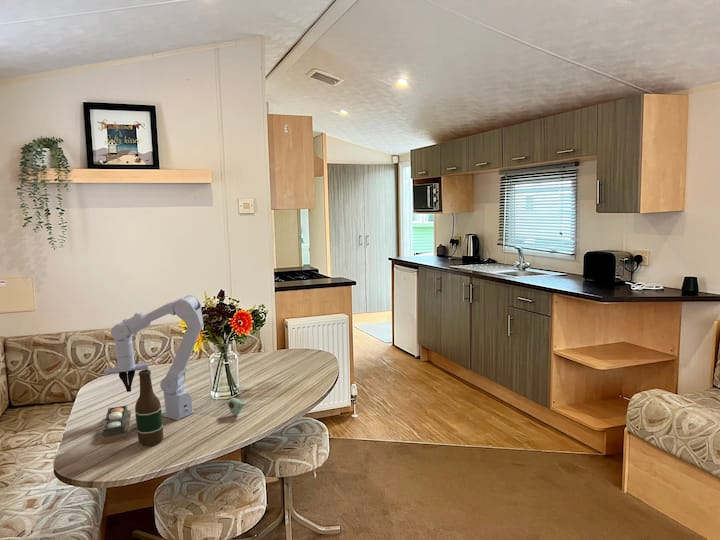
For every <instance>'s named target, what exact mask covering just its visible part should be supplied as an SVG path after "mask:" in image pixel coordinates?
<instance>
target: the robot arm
mask: <svg viewBox="0 0 720 540" xmlns="http://www.w3.org/2000/svg"><path fill="white" fill-rule="evenodd" d="M167 315H171V316H175V315H176V316H177V317H178V318H179V319H181V320H182V322H184V323H185V326H186V329H185V331H184V335H182V336H183V337H182V339H181V341H180V344H179V347H178V349H177V351H176V354H175V356H174V359H173V362H172V364H171V366H170V368H169V369H168V371H167V373H166V375H165V376H164V378H162V379H161V381H160V389H161V391H163V399H164V412H161V413H162V417H165V418H168V419H171V420H175V421H178V420H179V421H180V419H183V418H185V417H187V416H189V415H192V414H194V413H195V410H193V403H192V396H191V394H190V393H188V392H187V391H186V390H185V385H184V383H185V382H186V379H187V377H186V372H187V369H188V368H187V365H188V363H189V362H190V358H191V355H192V353H193V351H194V349H195V345H196V343H197V342H198V339H199V337H200V333H201V332H202V328H203V326H204V318H203V313H202V303H201V301H200V300H199V299H198V297H196V296H194V295H193V294H192V295H191V294H190V295H185V296H184V297H181V298H177V299H175V300H172V301H169V302H167V303H166V304H163V305H162V306H159V307H158V308H156V309H153V310H152V311H150V312H148V313H146V312H139V311H137V312H136V313H134V314H133V316H130V317H129V318H124V319H123V320H122V321H121V322H119V323H116V324H115V325H114V326H113V327H112V328H111V330H110V336H111V337H112V338H113V340H114V344H115V346H114V347H115V356H116V364H117V365H116V366H113V367H109V368H104V370H103V371H104V376H105V377H107V376H111V375H116V374H118V377H119V379H120V380H121V382H122V383H123V385H124V386H125V387H124V388H125V389H126V393H131V392H132V385H133V380H134V377H135V373H136V372H138V371H142V370H149V363H148V362H145V363H135V354H134V344H133V337H132V335H135V334H137V333H138V332H141V331H143V330H145V329H147V328H149V327H150V326H151V323H152V322H154V321H156V320H157V319H160V318H163V317H165V316H167Z"/></svg>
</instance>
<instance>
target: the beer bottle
mask: <svg viewBox="0 0 720 540" xmlns="http://www.w3.org/2000/svg"><path fill="white" fill-rule="evenodd" d="M151 374H152V371H151V370H149V369H148V370H139V372H138V375H137V376H139V397H138V398H137V400H136V402H135V408H134V409H135V411H134V412H135V421H136V432H137V434H136V435H137V440H138V443H139V445H140V446H142V447H152V446H156V445H159V444H160V443H162V441H163V439H164V425H163V416H162V413H163V412H162V405H161V402H160V399H159V398H158V396H157V395H156V394H155V393H154V388H153V384H152V379H151V378H152V376H151Z"/></svg>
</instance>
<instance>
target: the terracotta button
mask: <svg viewBox="0 0 720 540" xmlns="http://www.w3.org/2000/svg"><path fill="white" fill-rule="evenodd" d="M123 411H124V409H123V408H115V409H112V410H111V413H113V412H123Z"/></svg>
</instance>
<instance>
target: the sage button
mask: <svg viewBox="0 0 720 540" xmlns="http://www.w3.org/2000/svg"><path fill="white" fill-rule="evenodd" d="M117 426H121V422H111V423H109V424H108V425H107V428H111V427H117Z"/></svg>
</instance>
